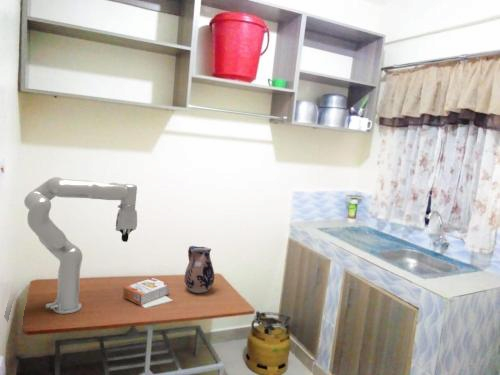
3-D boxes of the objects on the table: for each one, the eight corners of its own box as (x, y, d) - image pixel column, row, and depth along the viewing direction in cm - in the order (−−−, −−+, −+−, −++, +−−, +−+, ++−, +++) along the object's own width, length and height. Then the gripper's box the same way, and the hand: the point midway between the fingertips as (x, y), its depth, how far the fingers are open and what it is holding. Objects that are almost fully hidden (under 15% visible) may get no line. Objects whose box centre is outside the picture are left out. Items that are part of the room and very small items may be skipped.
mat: (145, 308, 187) (145, 307, 187) (127, 295, 201) (127, 294, 200) (172, 301, 199) (172, 300, 199) (154, 289, 212) (154, 288, 212)
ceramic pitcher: (198, 299, 206) (202, 255, 203) (173, 287, 218) (176, 246, 215) (219, 291, 220) (223, 250, 217) (194, 280, 232) (197, 242, 229)
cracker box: (123, 286, 196) (152, 277, 214) (122, 297, 196) (151, 287, 214) (141, 294, 188) (170, 284, 206) (140, 305, 189) (169, 294, 207)
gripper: (116, 208, 186) (113, 244, 188) (144, 208, 197) (140, 241, 198) (111, 206, 192) (107, 240, 194) (137, 206, 202) (134, 238, 204)
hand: (124, 241), depth 196 cm, fingers closed
